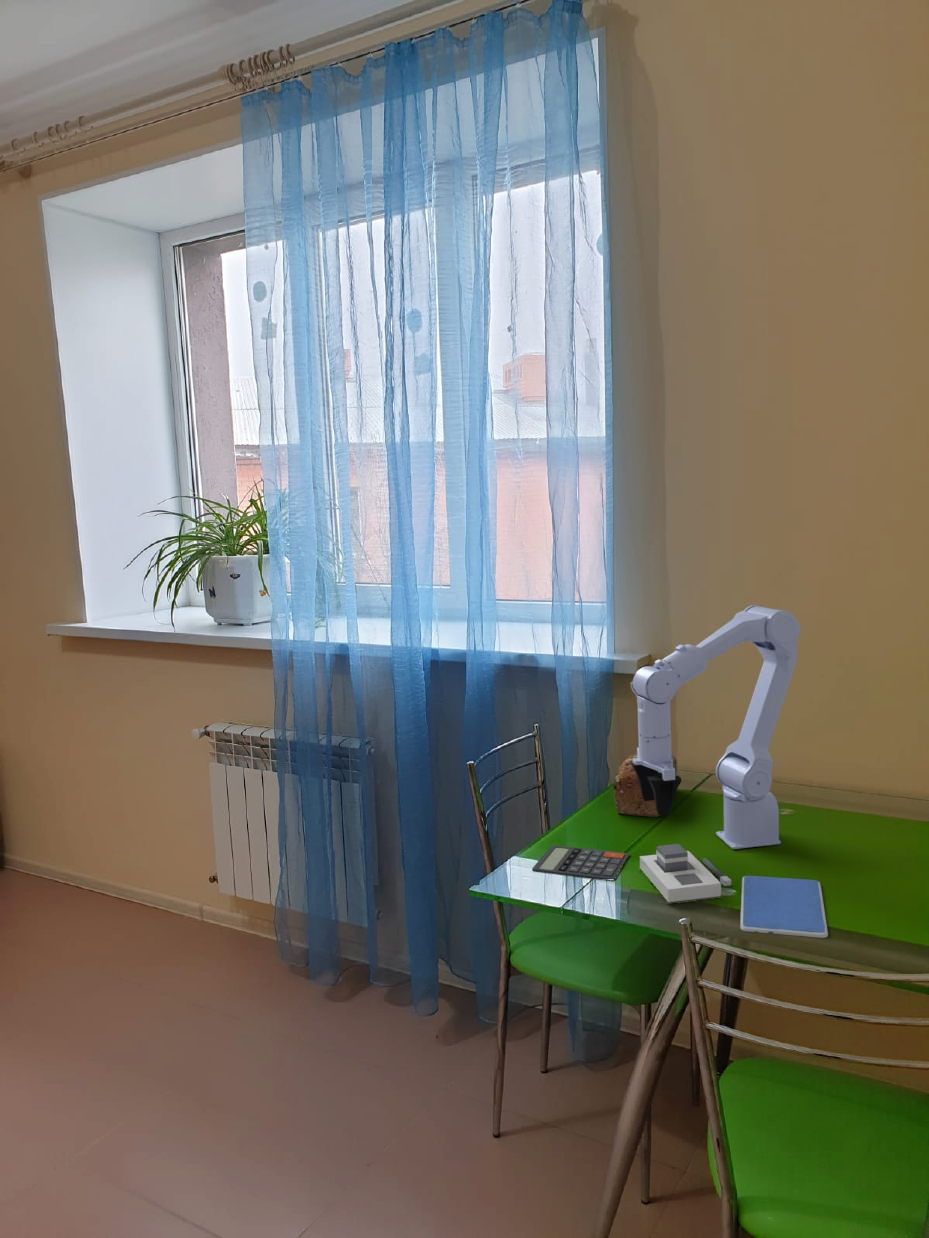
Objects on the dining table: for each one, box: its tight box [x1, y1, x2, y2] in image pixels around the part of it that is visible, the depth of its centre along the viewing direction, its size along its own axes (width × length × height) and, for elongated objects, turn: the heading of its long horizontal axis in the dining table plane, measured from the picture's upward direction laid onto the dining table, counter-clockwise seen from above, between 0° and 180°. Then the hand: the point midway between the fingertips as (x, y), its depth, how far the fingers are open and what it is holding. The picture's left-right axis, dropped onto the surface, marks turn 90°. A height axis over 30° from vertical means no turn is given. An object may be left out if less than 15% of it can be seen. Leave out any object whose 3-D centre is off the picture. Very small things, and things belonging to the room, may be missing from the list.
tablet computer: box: [739, 875, 829, 939], centre depth 152 cm, size 19×13×1 cm, turn 163°
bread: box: [613, 753, 678, 818], centre depth 203 cm, size 19×11×10 cm, turn 158°
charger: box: [655, 843, 688, 873], centre depth 164 cm, size 4×4×5 cm
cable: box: [702, 857, 732, 887], centre depth 166 cm, size 1×10×1 cm, turn 9°
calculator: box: [531, 844, 630, 880], centre depth 173 cm, size 12×1×15 cm
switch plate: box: [639, 850, 722, 903], centre depth 162 cm, size 9×14×3 cm, turn 8°
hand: (656, 807), depth 173 cm, fingers open, 7 cm apart
